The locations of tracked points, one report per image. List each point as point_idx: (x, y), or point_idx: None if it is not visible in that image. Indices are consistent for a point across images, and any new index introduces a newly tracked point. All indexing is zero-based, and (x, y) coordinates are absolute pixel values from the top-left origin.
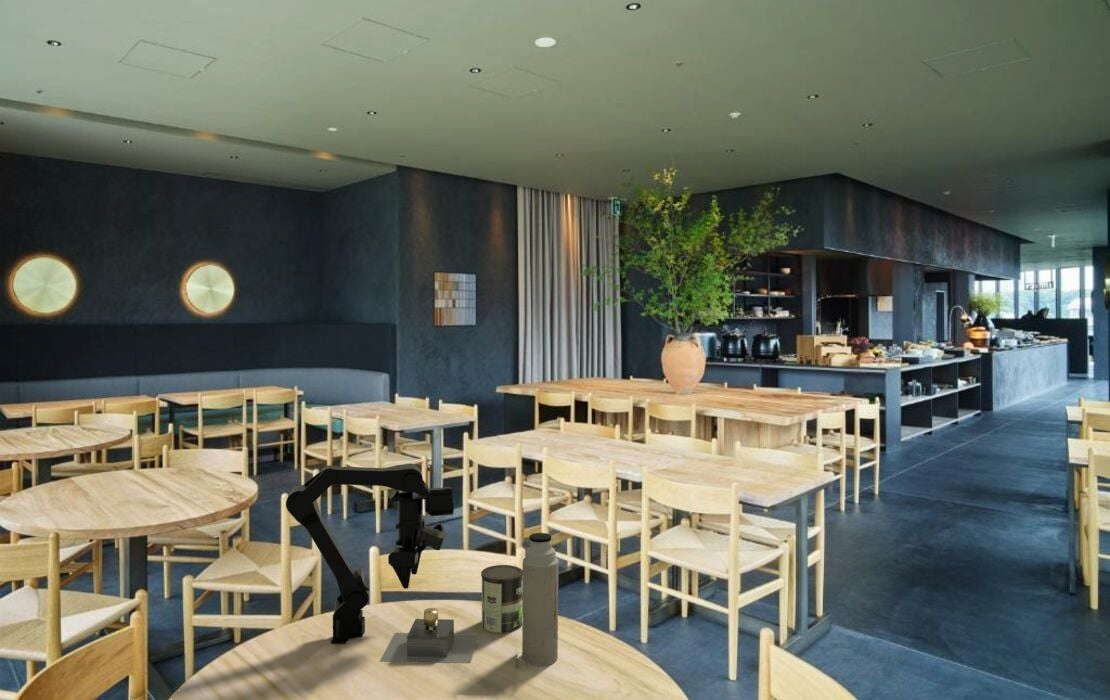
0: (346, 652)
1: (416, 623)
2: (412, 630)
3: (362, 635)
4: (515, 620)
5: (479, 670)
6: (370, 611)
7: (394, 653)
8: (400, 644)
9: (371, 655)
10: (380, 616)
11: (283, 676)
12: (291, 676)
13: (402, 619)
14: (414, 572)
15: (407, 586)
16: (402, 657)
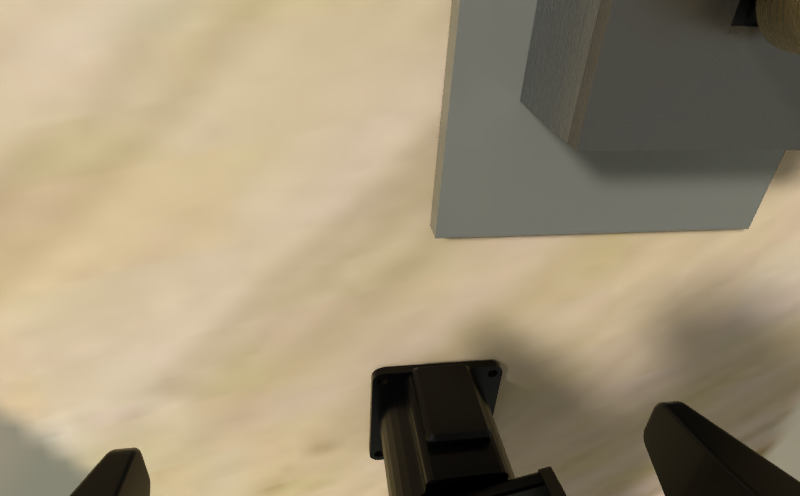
0: (563, 371)
1: (668, 125)
2: (780, 130)
3: (458, 369)
4: None
5: None
6: (112, 415)
7: (688, 179)
8: (591, 173)
9: (616, 276)
10: (165, 359)
11: None
12: None
13: (179, 243)
14: (134, 489)
15: (704, 425)
16: None
